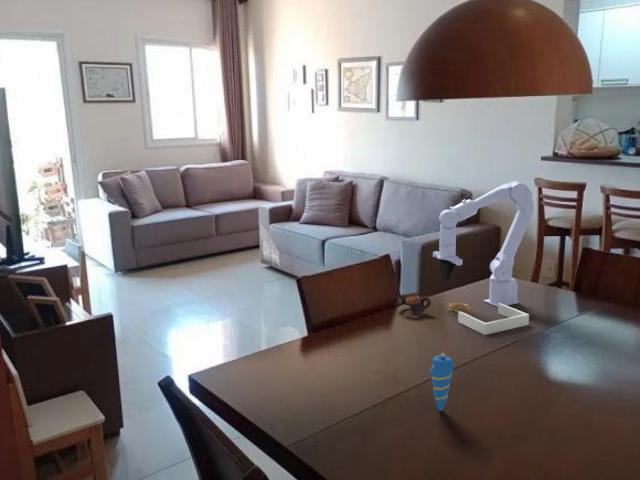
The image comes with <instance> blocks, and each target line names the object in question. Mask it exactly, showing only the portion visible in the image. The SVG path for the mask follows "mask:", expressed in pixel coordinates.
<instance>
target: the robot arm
mask: <svg viewBox="0 0 640 480" xmlns="http://www.w3.org/2000/svg"><path fill="white" fill-rule="evenodd" d="M499 200H503V201H504V200H505V201H510V200H512V201H513V203H514V206H515V207H516V209H517V210H516V213H515V216H514V219H513V220H512V222H511V224H510V225H511V226H510V227H509V230H508V232H507V235H506V237H505V239H504V242H503V243H502V244H503V245H502V247H501V249H500V250H499V252H498V253H497V254H496V255H495V258H494V259H493V260H491V261H490V264H489V270H490V272H491V275H490V277H489V290H488V291H489V293H488V294H489V296H488V297H489V298H488V299H483V302H485V303H487V304H489V305H492V306H495V307H497V308H498V304H499V303H502V304H504V305H507V306H512V305H515V304H519V301H518V288H519V285H518V282H517V280H516V279H515V277H512V276H513V268H514V264H515V256H516V254H517V251H518V250H519V249H518V248H519V247H520V245H521V242H522V241H523V238H524V236H525V233H526V230H527V228H528V226H529V224H530V221H531V220H532V217H533V215H534V212H535V207H534V206H535V205H534V200H533V192H532V191H531V189H530V188H529V186H528V185H527V184H525V183H522V182H521V181H519V180H517V179H515V180H511V181H509V182H507V183H504V184H502V185H500V186H498V187H495V188H494V189H492V190H490V191H488V192H487V193H485V194H483V195H481V196H479V197H478V198H476V199H475V200H474V199H467V200H466V198H464V199H463V200H461V202H460V203H458V204H457V205H455V206H450V207H449V209H444V210H442V211H441V212H440V214H439V216H438V220H439V222H440V223H439V225H440V226H439V237H438V239H439V241H438V243H439V245H438V247H439V248H438V249H439V251H437V250H435V251H433V252H432V257H433V258H436V259H438V260H437V265H438V267H439V268H440V271H441V276H442V279H443V281H444V282H448V281H450V280H451V277H452V275H453V271H454V269H455V267H456V266H462V265H463V258H460V257H459V256H458V255H457V254H456V246H457V245H456V244H457V241H456V240H457V231H456V226H457V225H458V222H459V223H460V222H462V221H464V220H467V219H468V218H470V217H472V216H474V215H476V214H477V213H478V211H479V209H481V208H483V207H485V206H487V205H489V204H491V203H494V202H496V201H499Z"/></svg>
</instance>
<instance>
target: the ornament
mask: <svg viewBox="0 0 640 480" xmlns="http://www.w3.org/2000/svg"><path fill="white" fill-rule="evenodd" d="M431 364H432V366H430V369H429V370H430V374H431V384H432V387H433V388H432V393H433V396H434V399H435V402H436V406H437V409H438V411H439V412H442V411H443V410H444V407H445V405H446V403H447V401H448V398H449V395H448V394H449V391H450V389H451V384H450V383H451V381H452V379H453V371H454V367H455V365H454V360H452V358H451V357H450V356H447V355H446V353H445V352H444V350H442V351H441V353H440V354H439V355H435V356H434V357H433V358H432V363H431Z"/></svg>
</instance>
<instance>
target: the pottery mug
mask: <svg viewBox="0 0 640 480" xmlns="http://www.w3.org/2000/svg"><path fill="white" fill-rule="evenodd" d="M396 299H397V301H396V305H395V306H399V305H400V306H403V305H405V306H409V308H410V309H409V310H406V311H405V315H406V318H412V317H421V316H423V313H424V312H426V310H427V309H430V307H431V305H432V301H431V299H430V297H429V296H419V293H418V292H410V293H406V294H405V293H404V294H402V295H399V296H397V298H396ZM425 302H426V304H425V305H424V303H425Z"/></svg>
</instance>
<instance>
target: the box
mask: <svg viewBox="0 0 640 480" xmlns="http://www.w3.org/2000/svg"><path fill="white" fill-rule="evenodd" d="M497 314H498V315H501V316H503V317H505V318H501V319H496V320H492V321H488V322H484V321H482V320H480V319H479V318H476V317H474V316H473V315H472V316H470V315H467V314H465V313H463V312H461V311H460V312H458V313H457V316H458V317H457V322H458V323H460V324H461V325H464V326H465V327H468V328H470V329H472V330H474V331H476V332H478V333H480V334H482V335H484V336H486V335H491V334H495V333H500V332H504V331H507V330H512V329H515V328H516V329H517V328H521V327H524V326H525V327H526V326H528V325H529V323H530V321H529V320H530V314H529V313H526V312H523V311H521V310H518V309H517V308H513V307H512V306H510V305H504V304H502V303H499V304H498V307H497Z"/></svg>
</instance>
